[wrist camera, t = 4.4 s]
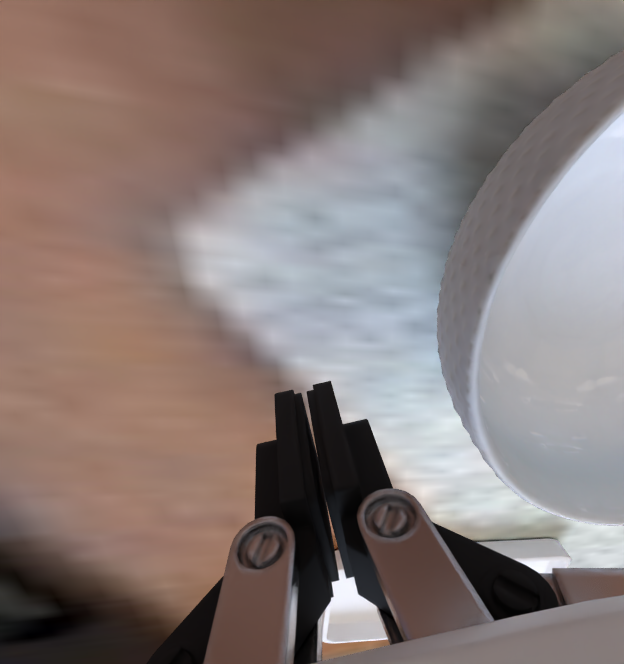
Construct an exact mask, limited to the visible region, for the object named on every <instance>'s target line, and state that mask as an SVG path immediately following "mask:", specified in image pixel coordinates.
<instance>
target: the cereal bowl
mask: <svg viewBox="0 0 624 664" xmlns="http://www.w3.org/2000/svg"><path fill="white" fill-rule="evenodd" d="M437 314H438V317H437V339H438V353H439V356H440V360H441V365H442V374H443V376H444V378H445V381H446V385H447V389H448V391H449V393H450V396H451V398H452V401H453V406H454V409H455V410H456V412H457V413H458V415H459V416H460V418H461V421H462V424H463V426H464V428H465V429H466V430H467V431H468V433H469V434H470V437H471V439H472V442H473V443H474V445H475V446H476V447H477V448H478V449H479V451H480V453H481V455H482V457H483V459H484V460H485V462H486V463H487V464H488V465H489V466H490V467H491V468H492V469H493V471H494V472H495V474H496V476H497V477H498V478H499V479H500V480H501V481H502V482H503V483H504V484H505V485H506V486H508V487H509V488H510V489H511V490H512V491H513V492H515V493H516V494H517V495H518V496H519V497H521V498H522V499H524V500H525V501H527V502H529V503H530V504H532V505H534V506H535V507H537V508H539V509H541V510H544V511H546V512H549V513H551V514H553V515H556V516H559V517H562V518H566V519H570V520H574V521H578V522H583V523H590V524H596V525H609V526H624V50H623V51H621V52H619V53H617V54H615V55H613V56H611V57H610V58H609V59H608V60H606V61H605V62H604V63H603V64H602V65H600V66H599V67H597V68H595V69H593V70H592V71H590V72H588V73H586V74H585V75H584V76H583V77H582V78H581V79H580V80H578V81H577V82H576V83H575V84H574V85H573V86H572V87H571V88H570V89H568V90H567V91H565V92H564V93H563V94H562V95H560V96H558V97H556V98H555V99H554V100H553V102H552V103H551V104H550V106H549V107H548V108H546V109H545V110H544V111H543V112H542V113H541V114H540V115H538V116H537V117H535V119H534V120H533V121H532V123H531V124H529V125H528V126H526V127H525V128H524V130H523V131H522V133H521V135H520V136H519V137H518V139H517V140H516V141H514V142H513V143H512V144H511V145H510V146H509V148H508V150H507V151H506V153H505V154H504V155H503V156H501V158H500V160H499V162H498V163H497V165H496V166H495V168H494V169H493V170H492V171H491V172H490V173H489V174H488V175H487V177H486V179H485V182H484V184H483V186H482V187H481V188H480V189H479V190H478V192H477V195H476V197H475V199H474V200H473V201H472V202H471V204H470V206H469V209H468V212H467V214H466V215H465V216H464V218H463V219H462V220H461V225H460V228H459V229H458V231H457V233H456V234H455V239H454V244H453V245H452V246H451V249H450V251H449V254H448V260H447V262H446V264H445V272H444V276H443V279H442V281H441V290H440V292H439V304H438V308H437Z"/></svg>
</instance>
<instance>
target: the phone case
mask: <svg viewBox="0 0 624 664" xmlns="http://www.w3.org/2000/svg"><path fill="white" fill-rule="evenodd" d="M477 543H479V544H481V545H483V546H485V547H488V548H490V549H492V550H494V551H496V552H498V553H501V554H503V555H505V556H507V557H509V558H512V559H514V560H516V561H518V562H520V563H522V564H525V565H527V566H528V567H530V568H532V569H533V570H535V571H537V572H538V573H552V568H568V567H569V565H570V563H571V561H572V559H571V557H570V556H569V555H568V553H567V552H566V551H565V549H564V548H563V546H562V545H561V544H560V542H559V541H558V540H555V539H531V540H511V541H491V542H477ZM335 556H336V562H337V568H338V574H339V581H334V582H332V588H333V595H334V597H332V598H331V602H330V603H329V605H328V606H327V608H326V609H325V611H324V612H323V614H322V615H321V619H322V641H323V642H326V643H347V642H359V641H372V640H384V639H388V638H387V635H386V633H385V630H384V628H383V625H382V623H381V620H380V618H379V615H378V612H377V608H376V606H375V605H374V604H372V603H371V602H369V601H368V600H366V599H365V598H363V597H362V596H360V595H358V592H357V588H356V584H355V579H354V577H351V578H347V579H346V576H345V572H344V568H343V564H342V560H341V557H340V553H339V550H336V551H335Z"/></svg>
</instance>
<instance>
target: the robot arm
mask: <svg viewBox="0 0 624 664" xmlns="http://www.w3.org/2000/svg"><path fill="white" fill-rule="evenodd" d="M313 389H314V390H311V391H307V397H308V402H309V408H310V414H311V420H312V426H313V432H314V438H315V443H316V449H317V453H316V449H315V445H314V441H313V437H312V433H311V429H310V425H309V422H308V418H307V414H306V410H305V406H304V402H303V398H302V394H301V393H298V394H294V391H293V390H289V391H285V392H280V393H276V394H275V417H276V438H277V440H273V441H269V442H264V443H260V444H257V447H256V485H255V520H253V521H251V522H249V523H248V524H247V525H245V526H244V527H243V528H242V529H241V530H240V531H239V532H238V534H237V535H236V536H235V538H234V540H233V542H232V545H231V547H230V552H229V556H228V560H227V564H226V569H225V573H224V576H223V577H222V578H221V579H220V580H219V581H218V583H217V584H216V585H215V586H214V587H213V588H212V589H211V590H210V591H209V593H208V594H207V595H206V596H205V597H204V598H203V599H202V600H201V601H200V603H199V604H198V605H197V606H196V607H195V608H194V609H193V610H192V612H191V613H190V614H189V615H188V616H187V617H186V618H185V619H184V620H183V622H182V623H181V624H180V625H179V626H178V627H177V628H176V629H175V630H174V632H173V633H172V634H171V635H170V636H169V637H168V638H167V639H166V641H165V642H164V643H163V644H162V645H161V646H160V647H159V648H158V649H157V651H156V652H155V653H154V654H153V656H152V657H151V658H150V660H149V661H148V662H147V664H624V568H552V573H538V572H537V571H535V570H533V569H532V568H530V567H528V566H527V565H525V564H522V563H520V562H518V561H516V560H514V559H512V558H509V557H507V556H505V555H503V554H501V553H498V552H496V551H494V550H492V549H490V548H488V547H485V546H483V545H481V544H479V543H477V542H474V541H472V540H470V539H468V538H466V537H463V536H461V535H459V534H457V533H455V532H453V531H450V530H448V529H446V528H444V527H442V526H439V525H437V524H435V523H433V522H432V521H431V520H430V518H429V517H428V515H427V514H426V512H425V510H424V509H423V507H422V506H421V504H420V503H419V502H418V501H417V499H416V498H415V497H414V496H412V495H411V494H409V493H407V492H406V491H402V490H399V489H393V487H392V484H391V482H390V479H389V476H388V474H387V471H386V468H385V465H384V463H383V460H382V457H381V455H380V452H379V449H378V446H377V444H376V441H375V438H374V436H373V433H372V430H371V427H370V425H369V422H368V420H367V419H364V420H360V421H355V422H351V423H347V424H342V420H341V417H340V413H339V409H338V406H337V402H336V399H335V395H334V391H333V388H332V384H331V381H328V382H324V383H319V384H315V385H313ZM317 455H318V457H317ZM326 502H327V504H326ZM327 506H328V510H329V514H330V518H331V522H332V526H333V530H334V533H335V537H336V541H337V545H338V549H339V553H340V557H341V560H342V564H343V568H344V572H345V576H346V579H347V578H351V577H354V579H355V584H356V588H357V592H358V595H360V596H362V597H363V598H365V599H366V600H368V601H369V602H371V603H372V604H374V605H375V606H376V608H377V612H378V615H379V618H380V620H381V623H382V625H383V628H384V630H385V633H386V635H387V638H388V641H389V643H390V645H388V646H384V647H380V648H376V649H372V650H367V651H363V652H359V653H355V654H350V655H346V656H342V657H338V658H333V659H329V660H325V661H322V619H321V615H322V614H323V612H324V611H325V609H326V608H327V606H328V605H329V603H330V602H331V598H332V597H334V595H333V588H332V582H334V581H339V574H338V568H337V562H336V556H335V550H334V545H333V539H332V533H331V527H330V521H329V516H328V510H327Z"/></svg>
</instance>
